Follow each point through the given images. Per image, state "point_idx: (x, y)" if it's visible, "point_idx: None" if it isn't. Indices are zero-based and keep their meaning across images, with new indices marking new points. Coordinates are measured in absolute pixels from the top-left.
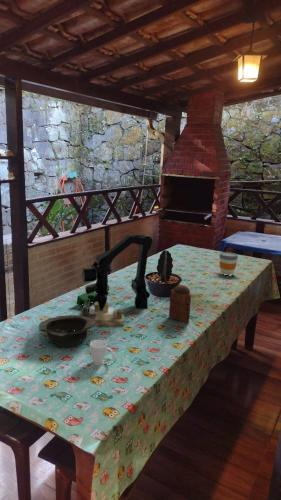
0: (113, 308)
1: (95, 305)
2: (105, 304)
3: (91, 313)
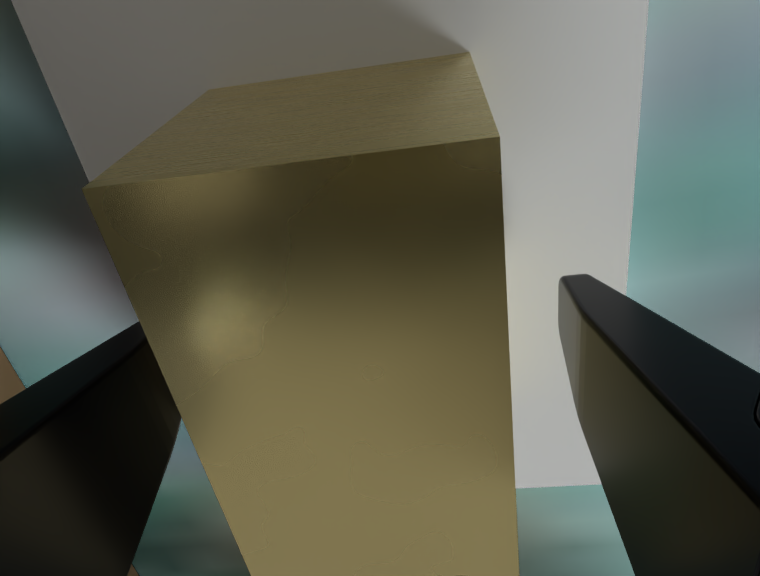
0: (557, 485)
1: (115, 215)
2: (294, 541)
3: (58, 11)
